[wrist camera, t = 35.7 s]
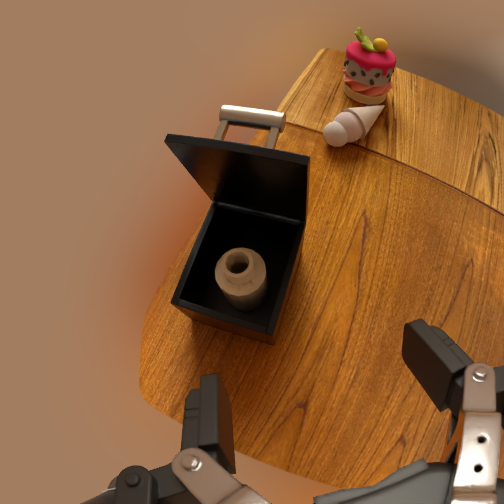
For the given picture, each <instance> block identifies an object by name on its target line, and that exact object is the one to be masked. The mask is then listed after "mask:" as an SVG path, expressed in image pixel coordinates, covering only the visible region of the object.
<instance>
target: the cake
mask: <svg viewBox="0 0 504 504" xmlns="http://www.w3.org/2000/svg"><path fill="white" fill-rule="evenodd" d="M355 35H356V37H357V39H358V40H359V41H356V42H352V43H350V44H349V45H348V46H347V51H346V56H347V60H346V61H345V63H344V66H346V69H345V70H344V71H343V72H344V74H345V75H346V76H345V77H344V83H343V90H344V93H345V94H346V95H347V96H348V97H350V98H351V99H353V100H355V101H357V102H360V103H363V104H367V105H376V104H380V103H382V102H384V100H385V98H386V95H387V92H389V90H390V89H391V87H392V85H391V76H392V73H393V72H394V68H395V64H396V57H395V55H394V54H393V53H392V52H391V51H390V50H389V49H388V44H387V42H386V41H385V40H384V39H379V38H378V39H376V40H374V42H370V40H369V39H368V37H366V36H363V34H362V30H361V28H357V31H355Z"/></svg>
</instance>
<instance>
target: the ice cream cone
mask: <svg viewBox="0 0 504 504" xmlns="http://www.w3.org/2000/svg"><path fill="white" fill-rule="evenodd" d="M384 106H385V105H380V106H367V107H356V108H347V109H344V110H343V112H342V113H340V114H338V115H337V116H336V117H335V119H334V121H333V122H330V123H329V124H327V125H326V126H325V128H324V132H323V135H324V139H325V141H326V142H327V143H328V144H329V145H331V146H334V147H340V146H343V145H345V144H346V143H347V142H354V141H356V140H358V139H359V138H364V137H365V136H366V134H367V133H368V131H369V130H370V128H371V126H372V125H373V123H374V122H375V120H376V119H377V117H378V116H379V114H380V113H381V111H382V110H383V108H384Z"/></svg>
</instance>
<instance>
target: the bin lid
mask: <svg viewBox="0 0 504 504" xmlns="http://www.w3.org/2000/svg"><path fill="white" fill-rule="evenodd" d="M219 120H220V124H219V126H218V129H217V131H216V134H215V136H214V139H208V138H201V137H193V136H183V135H175V134H167V136H166V139H165V141H164V142H165V143H166V145H167V146H168V147H169V148H170V150H171V151H172V152H173V153H174V155H175V156H176V157H177V158H178V159H179V161H180V162H181V163H182V164H183V166H184V167H185V168H186V169H187V171H188V172H189V173H190V174H191V175H192V177H193V178H194V179H195V180H196V182H197V183H198V184H199V185H200V187H201V188H202V189H203V190H204V192H205V193H206V194H207V195H208V197H209V198H210V199H211V200H212V201H216V202H221V203H225V204H230V205H234V206H239V207H243V208H248V209H252V210H256V211H261V212H265V213H269V214H274V215H278V216H282V217H286V218H290V219H294V220H298V221H303V222H306V220H307V213H308V195H309V172H310V156H306V155H301V154H296V153H292V152H287V151H282V150H276V149H275V146H276V143H277V140H278V137H279V133H282V132H283V131H284V128H285V123H286V114H285V113H282V112H276V111H270V110H263V109H255V108H248V107H239V106H231V105H223V106H222V108H221V110H220V115H219ZM229 125H233V126H241V127H248V128H254V129H260V130H267V131H270V132H269V136H268V139H267V142H266V145H265V147H260V146H254V145H248V144H242V143H236V142H230V141H224V138H225V135H226V133H227V130H228V127H229Z"/></svg>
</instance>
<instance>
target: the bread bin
mask: <svg viewBox="0 0 504 504" xmlns="http://www.w3.org/2000/svg"><path fill="white" fill-rule="evenodd" d="M305 227H306V222H303V221H298V220H294V219H290V218H286V217H282V216H278V215H274V214H269V213H265V212H261V211H256V210H252V209H248V208H243V207H239V206H234V205H230V204H225V203H221V202H216V201H213V202H212V204H211V206H210V209H209V211H208V213H207V215H206V218H205V220H204V222H203V225H202V227H201V229H200V232H199V234H198V236H197V239H196V241H195V243H194V246H193V248H192V251H191V253H190V255H189V258H188V260H187V263H186V265H185V267H184V270H183V272H182V275H181V277H180V280H179V282H178V285H177V287H176V290H175V292H174V295H173V298H172V300H171V304H172V305H174V306H175V307H176V308H177V309H179V310H180V311H181V312H183V313H184V314H185V315H186V316H188V317H189V318H191V319H192V320H195V321H197V322H200V323H203V324H206V325H209V326H212V327H215V328H218V329H221V330H225V331H228V332H231V333H234V334H237V335H240V336H244V337H247V338H250V339H253V340H257V341H260V342H263V343H267V344H270V345H275V341H276V338H277V335H278V332H279V329H280V325H281V322H282V319H283V315H284V312H285V309H286V305H287V302H288V299H289V295H290V292H291V288H292V285H293V281H294V278H295V274H296V271H297V267H298V264H299V260H300V257H301V253H302V247H303V240H304V233H305ZM236 248H247V249H251V250H253V251H255V252H256V253H258V254H259V255H260V256H261V258H262V259H263V261H264V262H265V267H266V274H267V283H268V295H267V298H266V300H265V302H264V303H263V304H262V305H261V306H260V307H259V308H257V309H255V310H252V311H241V310H238V309H236V308H234V307H233V306H232V305H231V304H230V303H229V301H228V300H227V298H226V296H225V295H224V293H223V291H222V290H221V288H220V286H219V285H218V283H217V281H216V278H215V268H216V265H217V262H218V260H219V259H220V258H221V257H222V256H223V254H224V253H226V252H228V251H229V250H232V249H236Z"/></svg>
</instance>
